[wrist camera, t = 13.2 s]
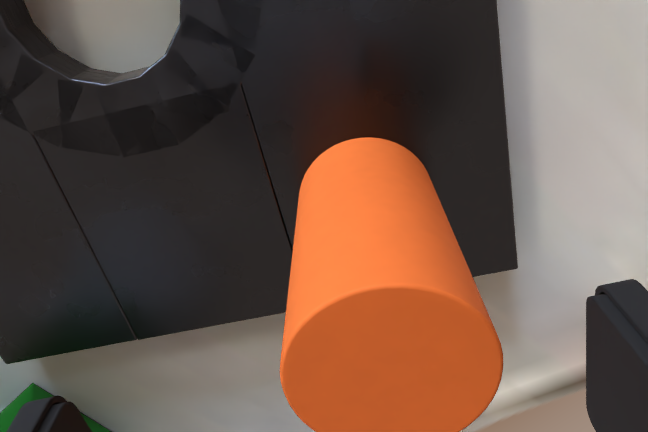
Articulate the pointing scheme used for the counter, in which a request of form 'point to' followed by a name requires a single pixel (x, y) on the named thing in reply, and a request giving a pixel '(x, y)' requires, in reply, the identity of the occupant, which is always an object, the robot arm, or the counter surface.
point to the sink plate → (227, 158)
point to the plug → (382, 301)
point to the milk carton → (33, 392)
